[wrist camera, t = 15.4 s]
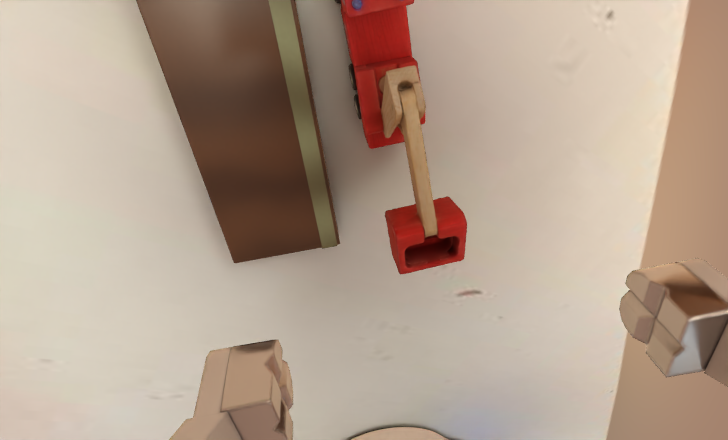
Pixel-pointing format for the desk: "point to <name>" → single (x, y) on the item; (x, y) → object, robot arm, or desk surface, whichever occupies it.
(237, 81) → the board
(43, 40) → the desk surface
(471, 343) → the desk surface
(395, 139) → the toy fire truck
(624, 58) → the desk surface
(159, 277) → the desk surface
